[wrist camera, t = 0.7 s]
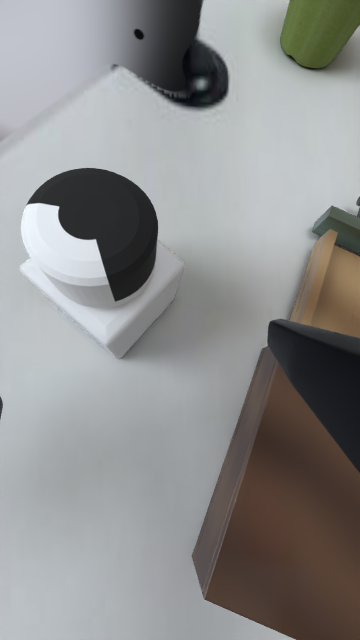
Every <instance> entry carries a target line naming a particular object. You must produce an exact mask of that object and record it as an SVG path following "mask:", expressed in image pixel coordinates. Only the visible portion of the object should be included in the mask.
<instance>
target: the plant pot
mask: <svg viewBox="0 0 360 640" xmlns="http://www.w3.org/2000/svg"><path fill="white" fill-rule="evenodd" d="M359 25H360V0H290V2H289V6H288V10H287V14H286V18H285V21H284V25H283V29H282V33H281V37H280V43H281V46H282V49H283V50H284V52H285V53H286V54H287V55H291V56H292V57H293V58H294V59H295V61H296V62H297V63H298V64H300V65H302V66H305V67H311V68H322V67H325V66H327V65H328V64H329V63H331V62H332V61H333V60H334V59H335V58H336V56H337V55H338V54H339V52H340V51H341V49H342V48H343V47H344V45H345V44H346V43H347V41H348V40H349V38H350V37H351V36H352V34H353V33H354V31H355V30H356V29H357V27H358V26H359Z"/></svg>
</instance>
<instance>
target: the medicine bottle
mask: <svg viewBox="0 0 360 640" xmlns="http://www.w3.org/2000/svg"><path fill="white" fill-rule="evenodd" d="M21 233H22V239H23V243H24V245H25V248H26V250H27V252H28V254H29V256H30V258H29V259H28V260H26V261H25V262H24V263H23V264H22V265H21V266H20V271H21V273H22V274H23V275H24V276H25V277H26V278H27V279H28V280H29V281H30V282H31V283H32V284H34V285H35V286H36V287H37V288H38V289H39V290H40V291H41V292H42V293H43V294H44V295H45V296H46V297H47V298H48V299H49V300H50V301H51V302H52V303H54V304H55V305H56V306H57V307H58V308H59V309H60V310H61V311H62V312H64V313H65V314H66V315H67V316H68V317H69V318H70V319H72V320H73V321H74V322H75V323H76V324H77V325H78V326H80V327H81V328H82V329H83V330H84V331H85V332H86V333H88V334H89V335H90V336H91V337H92V338H93V339H94V340H96V341H97V342H98V343H99V344H100V345H101V346H102V347H104V348H105V349H106V350H107V351H108V352H109V353H111V354H112V355H113V356H114V357H115V358H117V359H119V358H121V357H122V356H123V355H124V354H125V353H126V352H127V351H128V350H129V349H130V348H131V347H132V345H133V344H134V343H135V342H136V341H137V340H138V339H139V338H140V337H141V336H142V334H143V333H144V332H145V331H146V330H147V329H148V328H149V327H150V326H151V325H152V323H153V322H154V321H155V320H156V319H157V318H158V317H159V316H160V315H161V314H162V312H163V311H164V310H165V309H166V308H167V307H168V306H169V305H170V304H171V303H172V301H173V300H174V298H175V295H176V292H177V288H178V285H179V282H180V279H181V275H182V272H183V269H184V262H183V260H182V259H181V258H179V257H178V256H177V255H176V254H174V253H173V252H172V251H171V250H170V249H168V248H167V247H166V246H165V245H163V244H162V243H161V242H160V241H159V240H157V236H158V220H157V216H156V212H155V209H154V207H153V205H152V203H151V201H150V199H149V198H148V197H147V195H146V194H145V193H144V192H143V191H142V190H141V189H140V188H139V187H138V186H137V185H136V184H135V183H133V182H132V181H130V180H129V179H127V178H125V177H123V176H121V175H118V174H116V173H114V172H110V171H107V170H102V169H96V168H81V169H74V170H70V171H66V172H63V173H61V174H58V175H56V176H54V177H53V178H51V179H49V180H48V181H46V182H45V183H44V184H43V185H41V186H40V187H39V188H38V189H37V190H36V192H35V193H34V194H33V196H32V197H31V198H30V200H29V201H28V203H27V205H26V207H25V210H24V213H23V216H22V222H21Z"/></svg>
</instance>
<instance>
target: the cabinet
mask: <svg viewBox="0 0 360 640" xmlns="http://www.w3.org/2000/svg"><path fill="white" fill-rule="evenodd" d="M192 558H193V561H194V565H195V569H196V572H197V576H198V580H199V583H200V587H201V590H202V594H203V598H204V599H205V600H207V601H210V602H212V603H214V604H216V605H219V606H221V607H223V608H225V609H228V610H230V611H232V612H235V613H237V614H239V615H241V616H244V617H246V618H248V619H250V620H253V621H255V622H257V623H260V624H262V625H264V626H266V627H269V628H271V629H273V630H275V631H278V632H280V633H282V634H284V635H287V636H289V637H291V638H294V639H296V640H360V473H359V472H358V470H357V469H356V468H355V467H354V465H353V464H352V463H351V461H350V460H349V459H348V457H347V456H346V455H345V453H344V452H343V451H342V450H341V448H340V447H339V446H338V444H337V443H336V442H335V440H334V439H333V438H332V436H331V435H330V434H329V433H328V431H327V430H326V429H325V427H324V426H323V425H322V423H321V422H320V421H319V420H318V418H317V417H316V416H315V414H314V413H313V412H312V410H311V409H310V408H309V406H308V405H307V404H306V403H305V401H304V400H303V399H302V397H301V396H300V395H299V393H298V392H297V391H296V389H295V388H294V387H293V385H292V384H291V383H290V381H289V380H288V378H287V377H286V375H285V373H284V372H283V370H282V369H281V367H280V365H279V364H278V362H277V360H276V359H275V357H274V355H273V354H272V352H271V350H270V349H269V346H268V347H266V348H263V349H262V352H261V355H260V358H259V361H258V364H257V366H256V369H255V372H254V375H253V378H252V381H251V384H250V387H249V390H248V393H247V396H246V399H245V402H244V405H243V408H242V411H241V413H240V416H239V419H238V422H237V425H236V428H235V431H234V434H233V437H232V440H231V443H230V446H229V449H228V452H227V455H226V458H225V460H224V463H223V466H222V469H221V472H220V475H219V478H218V481H217V484H216V487H215V490H214V493H213V496H212V499H211V502H210V505H209V507H208V510H207V513H206V516H205V519H204V522H203V525H202V528H201V531H200V534H199V537H198V540H197V543H196V546H195V549H194V552H193V554H192Z"/></svg>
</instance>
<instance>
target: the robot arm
mask: <svg viewBox="0 0 360 640" xmlns="http://www.w3.org/2000/svg"><path fill="white" fill-rule="evenodd" d="M268 346H269V349H270V350H271V352H272V354H273V355H274V357H275V359H276V360H277V362H278V364H279V365H280V367H281V369H282V370H283V372H284V373H285V375H286V377H287V378H288V380H289V381H290V383H291V384H292V385H293V387H294V388H295V389H296V391H297V392H298V393H299V395H300V396H301V397H302V399H303V400H304V401H305V403H306V404H307V405H308V406H309V408H310V409H311V410H312V412H313V413H314V414H315V416H316V417H317V418H318V420H319V421H320V422H321V423H322V425H323V426H324V427H325V429H326V430H327V431H328V433H329V434H330V435H331V436H332V438H333V439H334V440H335V442H336V443H337V444H338V446H339V447H340V448H341V450H342V451H343V452H344V453H345V455H346V456H347V457H348V459H349V460H350V461H351V463H352V464H353V465H354V467H355V468H356V469H357V470H358V472H359V473H360V338H357V337H353V336H349V335H345V334H341V333H337V332H333V331H329V330H325V329H321V328H317V327H313V326H308V325H304V324H300V323H296V322H292V321H288V320H284V319H277V320H273V321H271V322H270V323H269V326H268ZM2 408H3V403H2V399H1V397H0V418H1V413H2Z"/></svg>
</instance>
